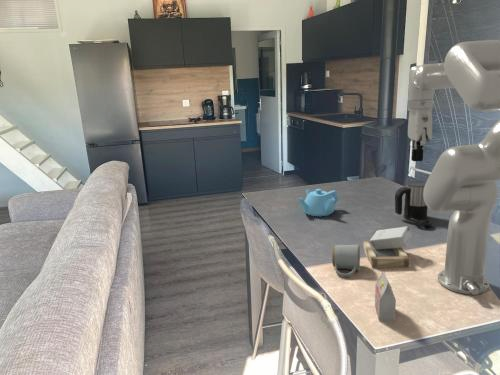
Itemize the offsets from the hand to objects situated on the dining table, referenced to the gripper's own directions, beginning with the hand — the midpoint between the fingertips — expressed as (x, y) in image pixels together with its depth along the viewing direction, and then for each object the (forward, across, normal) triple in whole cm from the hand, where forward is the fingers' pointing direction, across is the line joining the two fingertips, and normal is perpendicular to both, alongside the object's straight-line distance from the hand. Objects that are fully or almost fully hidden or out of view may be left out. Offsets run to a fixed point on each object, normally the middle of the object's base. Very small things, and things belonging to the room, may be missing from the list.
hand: (416, 160), depth 129 cm
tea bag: (+29, -44, +21) cm, 57 cm away
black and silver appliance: (+29, +19, -8) cm, 36 cm away
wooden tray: (+29, -13, +13) cm, 34 cm away
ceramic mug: (+29, -21, +26) cm, 45 cm away
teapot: (+29, +33, +30) cm, 53 cm away
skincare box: (+26, -5, +14) cm, 30 cm away
